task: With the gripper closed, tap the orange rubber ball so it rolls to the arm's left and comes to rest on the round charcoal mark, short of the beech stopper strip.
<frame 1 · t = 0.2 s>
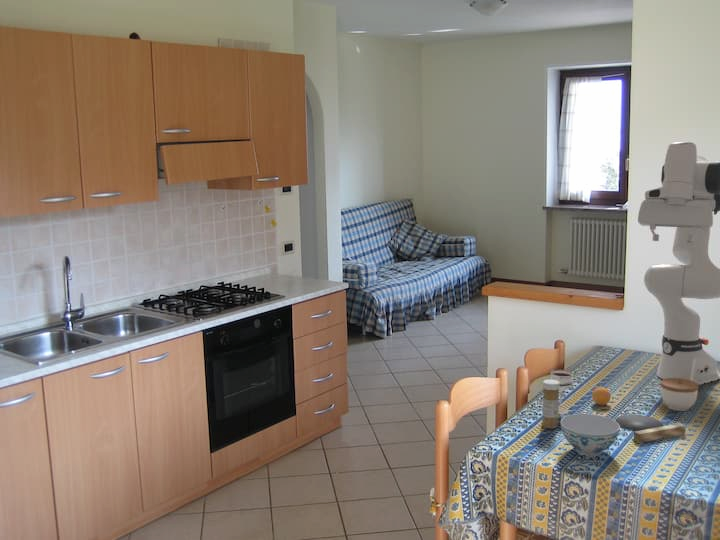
hand: (672, 241, 224), 52 cm above the table, tool tilted 20°, fingers open, 8 cm apart
stopper strip: (659, 437, 214), on the table
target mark: (638, 423, 224), on the table
chinaware: (588, 452, 205), on the table
sprinkles bottle: (549, 426, 222), on the table
lidded jar: (677, 408, 237), on the table
wineglass: (560, 411, 234), on the table
ball: (601, 396, 239), on the table
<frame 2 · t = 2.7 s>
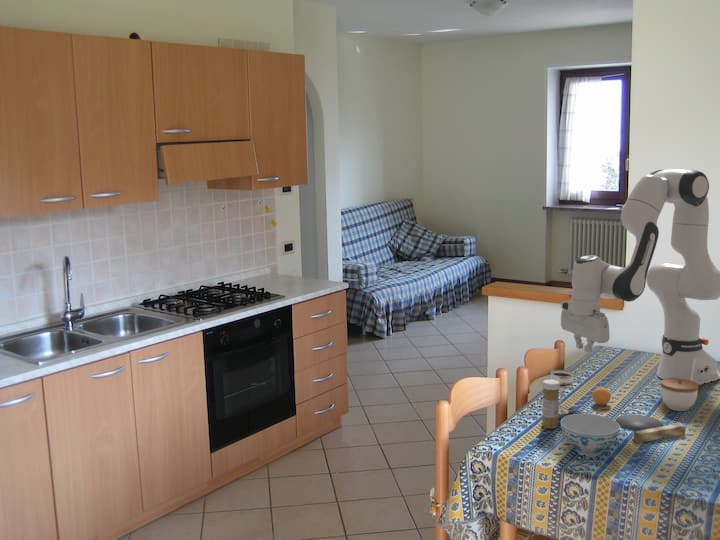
hand: (583, 349, 246), 15 cm above the table, tool pointing down, fingers open, 3 cm apart
nothing on the table moved.
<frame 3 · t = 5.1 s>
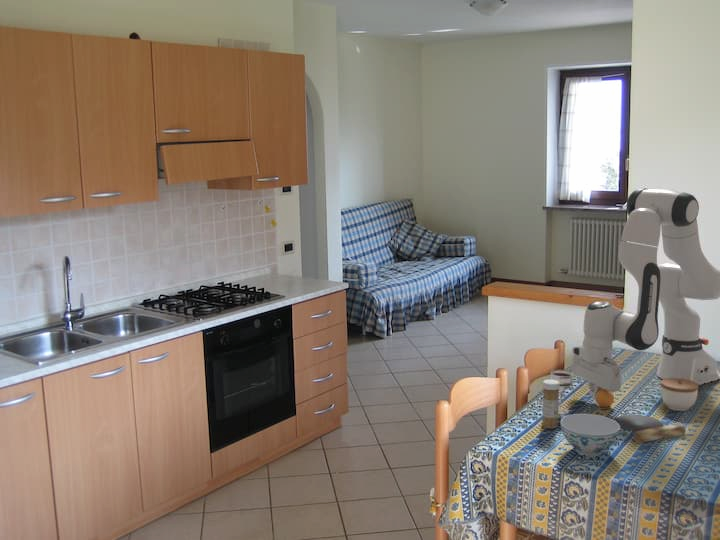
hand: (594, 396, 241), 2 cm above the table, tool pointing down, fingers closed
ball: (604, 398, 237), on the table
everything else where it was.
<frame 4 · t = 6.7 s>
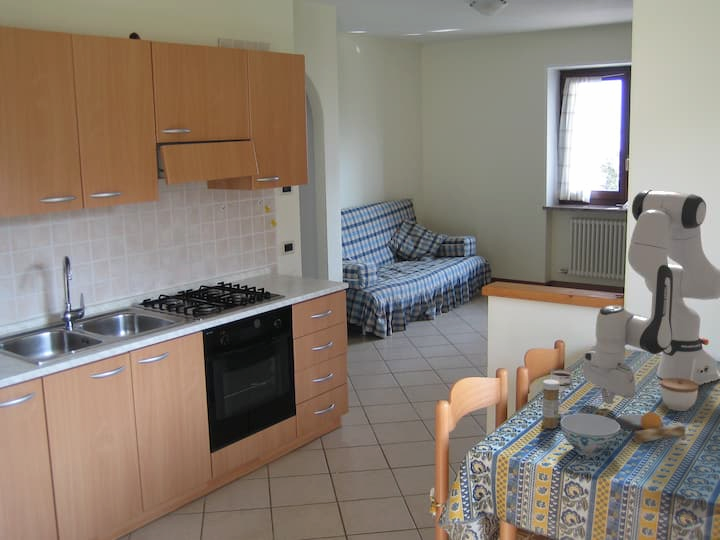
hand: (607, 402, 236), 2 cm above the table, tool pointing down, fingers closed
ball: (651, 422, 217), on the table
everything else where it was.
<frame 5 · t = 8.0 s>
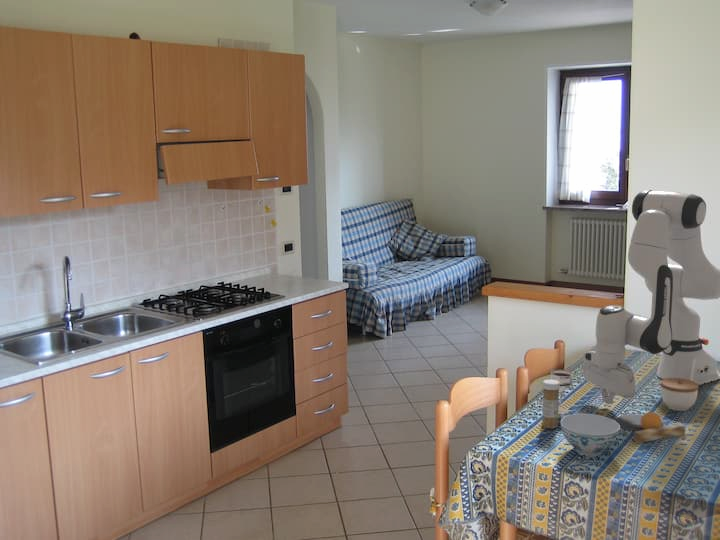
hand: (607, 402, 236), 2 cm above the table, tool pointing down, fingers closed
nothing on the table moved.
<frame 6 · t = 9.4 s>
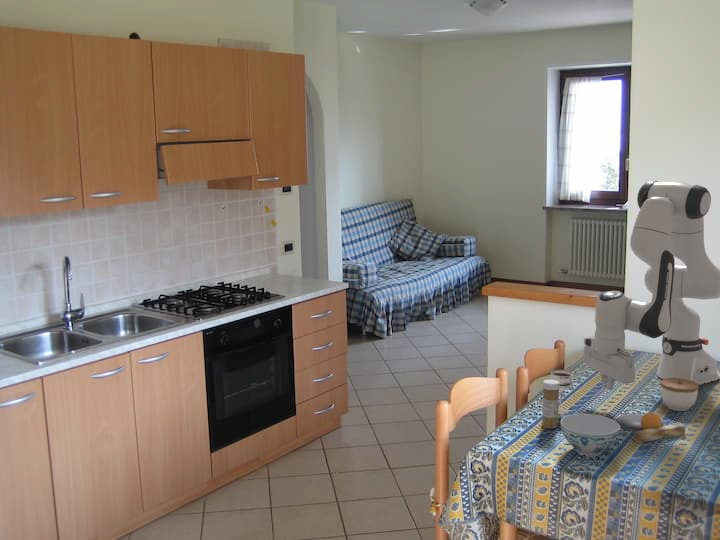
hand: (607, 388, 237), 6 cm above the table, tool pointing down, fingers closed
nothing on the table moved.
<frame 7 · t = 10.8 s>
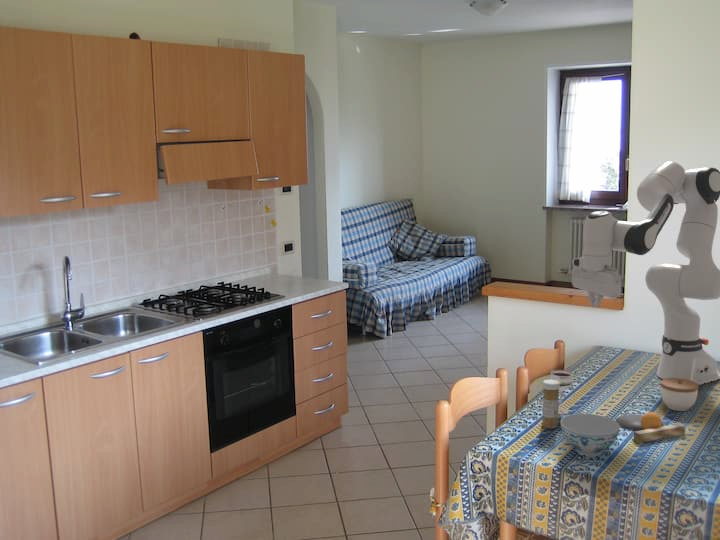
hand: (595, 306, 245), 29 cm above the table, tool pointing down, fingers closed
nothing on the table moved.
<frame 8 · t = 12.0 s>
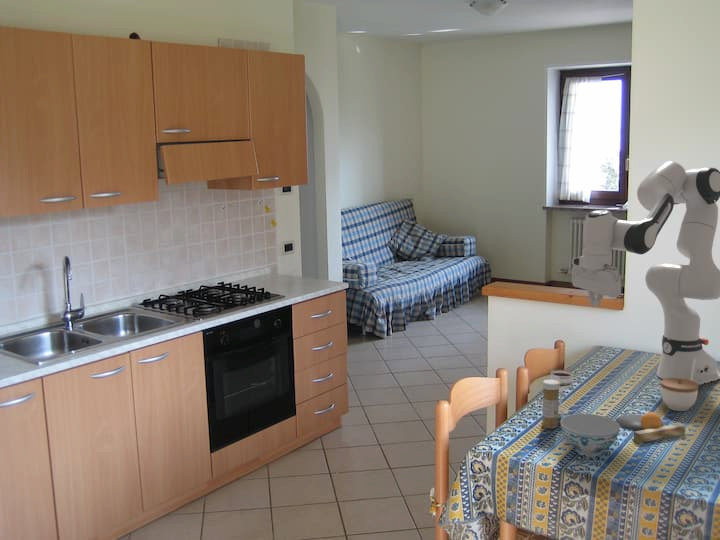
hand: (594, 305, 245), 29 cm above the table, tool pointing down, fingers closed
nothing on the table moved.
at the end: ball 6.3 cm from the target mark (horizontally); ball at rest at the end (0.0 cm/s); ball moved 23.2 cm from its start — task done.
